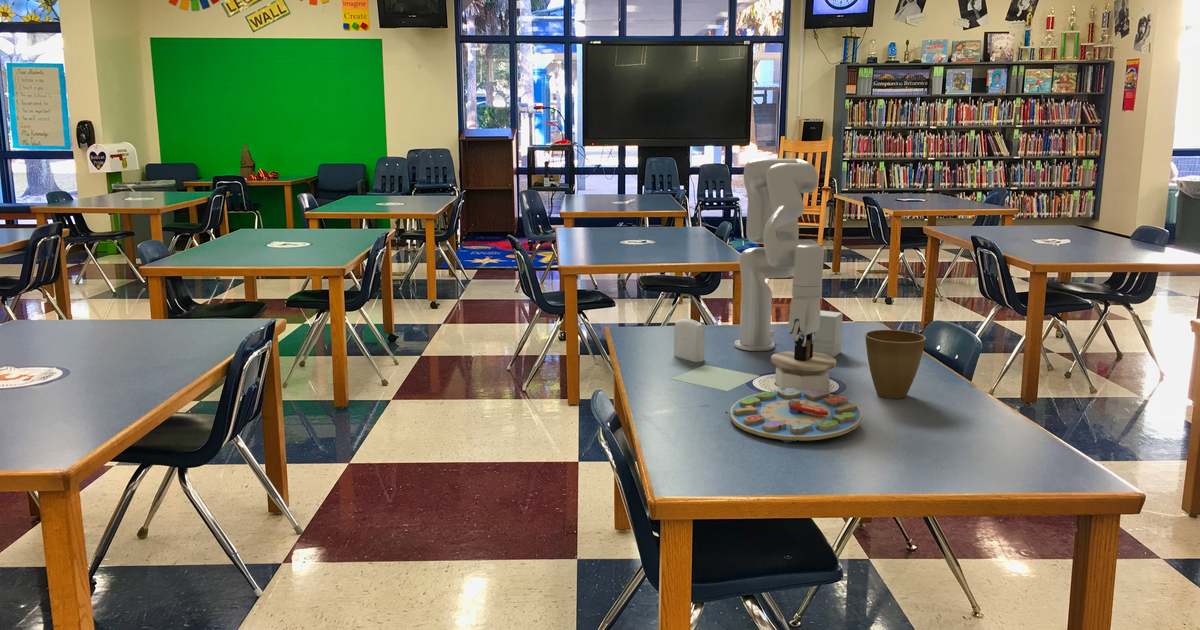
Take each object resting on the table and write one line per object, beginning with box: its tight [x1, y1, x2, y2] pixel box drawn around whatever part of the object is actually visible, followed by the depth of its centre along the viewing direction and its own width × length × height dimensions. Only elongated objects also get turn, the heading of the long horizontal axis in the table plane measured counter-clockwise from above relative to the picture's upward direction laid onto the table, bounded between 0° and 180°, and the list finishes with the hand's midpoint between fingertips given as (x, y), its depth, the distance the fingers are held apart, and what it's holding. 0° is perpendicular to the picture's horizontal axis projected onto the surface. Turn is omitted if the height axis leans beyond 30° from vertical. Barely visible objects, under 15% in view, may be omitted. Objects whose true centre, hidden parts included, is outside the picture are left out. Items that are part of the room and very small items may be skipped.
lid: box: [770, 340, 837, 371], centre depth 235 cm, size 17×17×6 cm
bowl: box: [774, 366, 831, 392], centre depth 237 cm, size 13×13×5 cm
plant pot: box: [864, 329, 927, 399], centre depth 230 cm, size 15×15×16 cm
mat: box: [670, 364, 761, 392], centre depth 244 cm, size 18×18×1 cm
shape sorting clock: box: [729, 388, 863, 443], centre depth 209 cm, size 31×30×6 cm
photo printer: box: [673, 318, 706, 363], centre depth 263 cm, size 10×4×12 cm, turn 39°
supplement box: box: [813, 309, 844, 358], centre depth 271 cm, size 7×7×13 cm
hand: (803, 358), depth 235 cm, fingers closed on lid, 3 cm apart
